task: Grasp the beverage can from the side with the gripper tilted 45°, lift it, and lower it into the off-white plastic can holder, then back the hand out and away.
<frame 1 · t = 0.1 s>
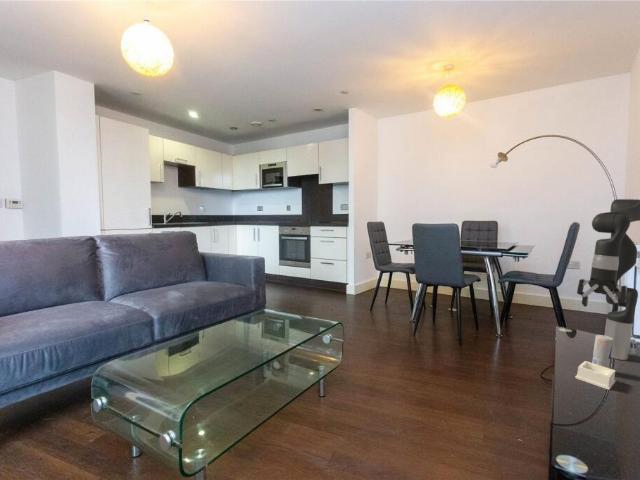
hand: (598, 309, 127), 29 cm above the table, tool pointing down, fingers open, 8 cm apart
beverage can: (599, 371, 141), on the table
can holder: (595, 380, 132), on the table
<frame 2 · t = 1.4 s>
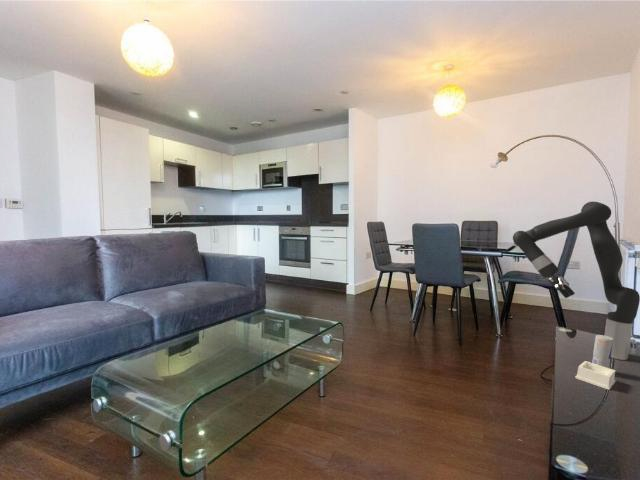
hand: (570, 296, 151), 29 cm above the table, tool tilted 45°, fingers open, 8 cm apart
nothing on the table moved.
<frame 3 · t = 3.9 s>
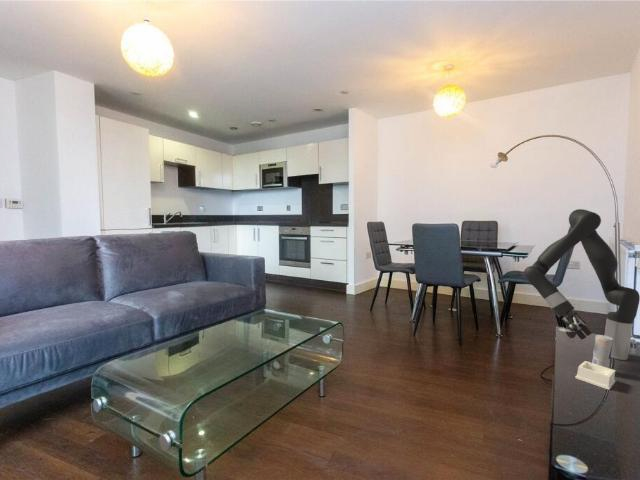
hand: (586, 336, 144), 13 cm above the table, tool tilted 45°, fingers open, 8 cm apart
nothing on the table moved.
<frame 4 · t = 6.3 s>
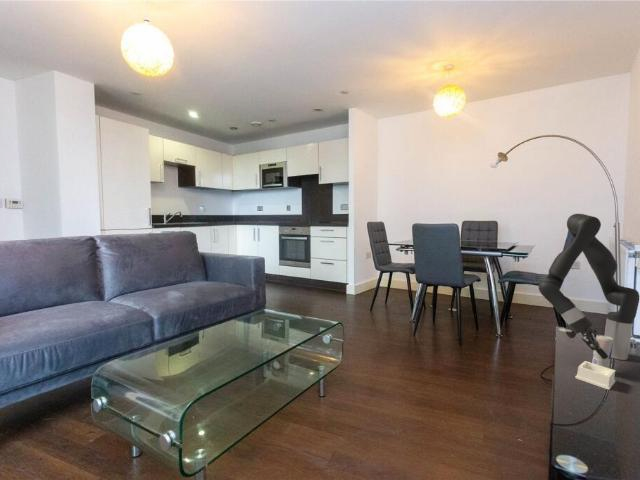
hand: (607, 356, 139), 7 cm above the table, tool tilted 45°, fingers closed on beverage can, 5 cm apart
beverage can: (599, 371, 141), on the table, touching gripper
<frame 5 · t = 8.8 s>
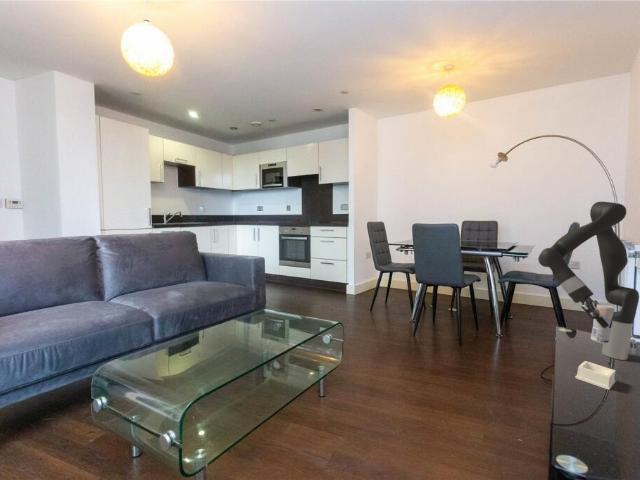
hand: (608, 325, 133), 22 cm above the table, tool tilted 45°, fingers closed on beverage can, 5 cm apart
beverage can: (599, 342, 135), point 14 cm above the table, touching gripper
when the fingers open (9 cm above the table, at t = 11.8 s): beverage can drops 1 cm, resting on can holder.
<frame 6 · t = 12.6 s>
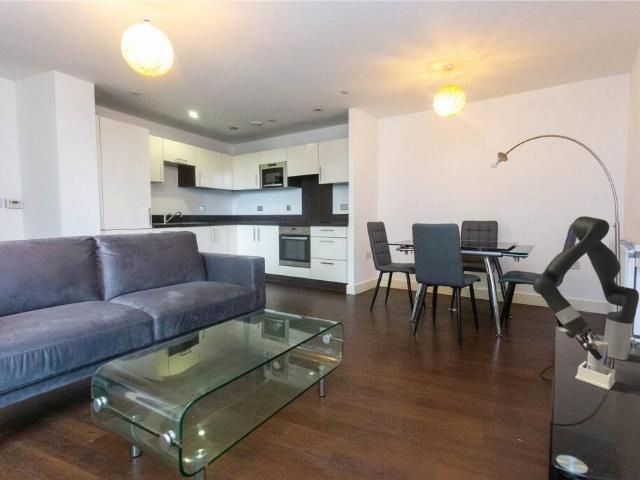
hand: (602, 356, 131), 10 cm above the table, tool tilted 45°, fingers open, 8 cm apart
beverage can: (594, 378, 133), point 1 cm above the table, touching can holder
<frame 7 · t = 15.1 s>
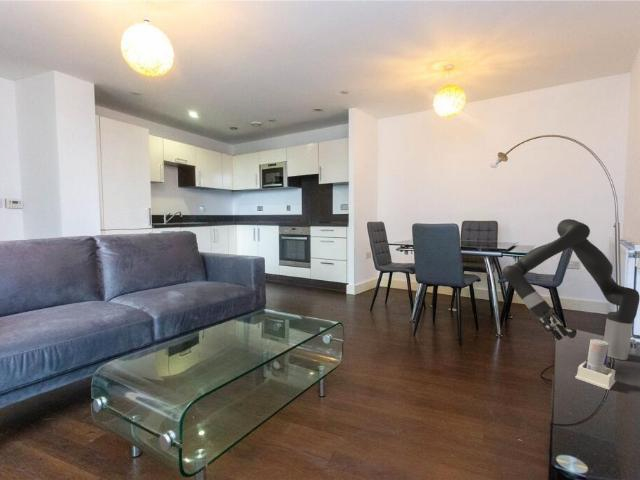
hand: (564, 337, 142), 13 cm above the table, tool tilted 45°, fingers open, 8 cm apart
nothing on the table moved.
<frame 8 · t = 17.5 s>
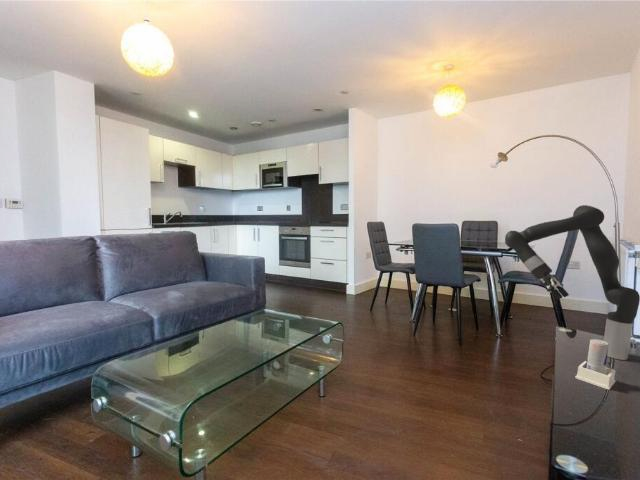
hand: (563, 297, 147), 29 cm above the table, tool tilted 45°, fingers open, 8 cm apart
nothing on the table moved.
at the end: beverage can 0.4 cm from the can holder (horizontally); beverage can point 0.6 cm above the table; beverage can tilted 0° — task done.
